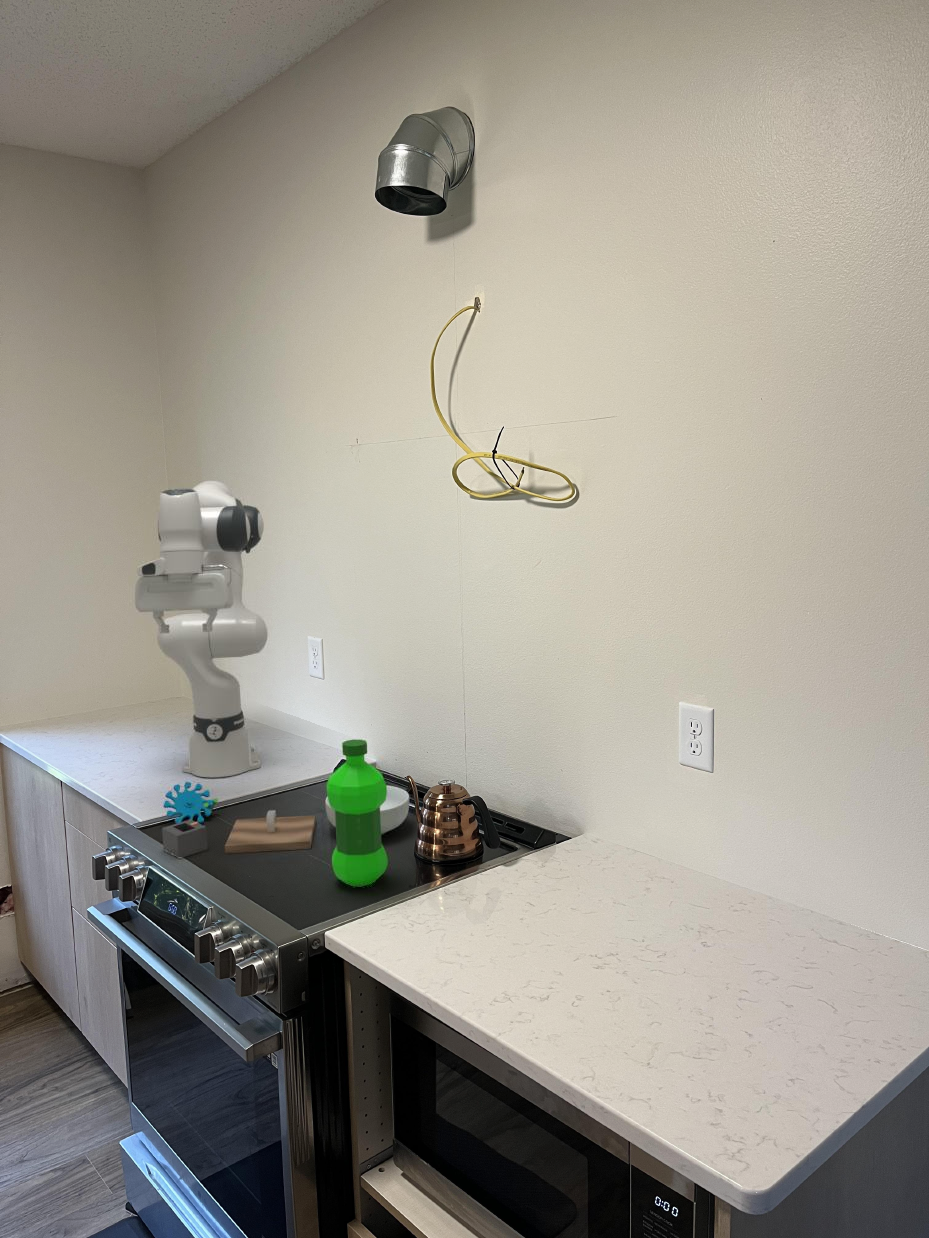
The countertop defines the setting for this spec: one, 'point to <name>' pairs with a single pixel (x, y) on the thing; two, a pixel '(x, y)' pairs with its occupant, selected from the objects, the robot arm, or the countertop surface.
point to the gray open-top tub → (185, 838)
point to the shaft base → (271, 834)
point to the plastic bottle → (357, 817)
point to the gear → (189, 803)
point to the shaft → (271, 821)
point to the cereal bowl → (385, 809)
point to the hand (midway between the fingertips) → (186, 632)
